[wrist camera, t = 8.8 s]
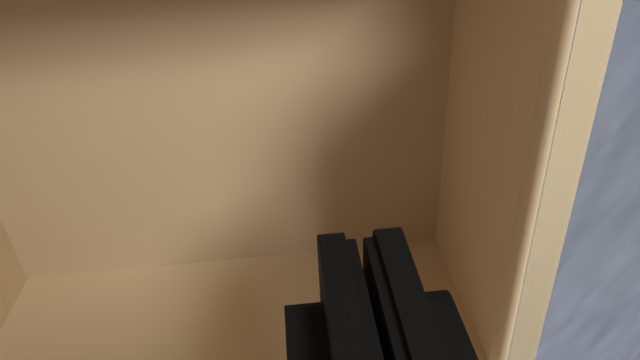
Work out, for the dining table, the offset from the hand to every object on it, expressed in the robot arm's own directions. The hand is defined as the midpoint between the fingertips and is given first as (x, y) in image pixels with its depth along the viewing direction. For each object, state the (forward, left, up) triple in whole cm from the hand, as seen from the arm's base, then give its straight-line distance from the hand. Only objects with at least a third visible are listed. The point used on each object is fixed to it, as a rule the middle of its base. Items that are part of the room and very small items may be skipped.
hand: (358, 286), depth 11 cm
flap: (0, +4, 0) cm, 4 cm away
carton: (0, -4, -10) cm, 11 cm away
